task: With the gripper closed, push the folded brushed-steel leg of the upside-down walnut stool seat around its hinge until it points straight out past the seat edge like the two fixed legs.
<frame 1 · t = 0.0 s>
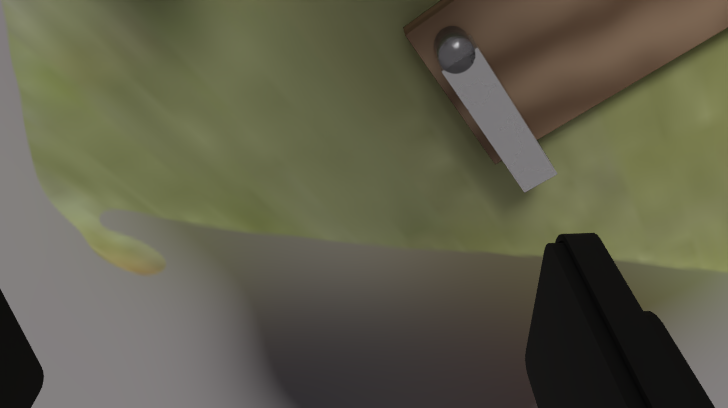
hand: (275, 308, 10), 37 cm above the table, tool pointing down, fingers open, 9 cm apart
folding leg: (493, 109, 44), point 4 cm above the table, hinge at 0.0°
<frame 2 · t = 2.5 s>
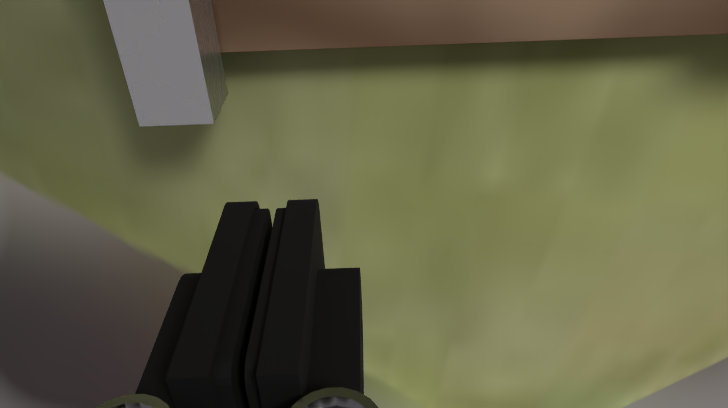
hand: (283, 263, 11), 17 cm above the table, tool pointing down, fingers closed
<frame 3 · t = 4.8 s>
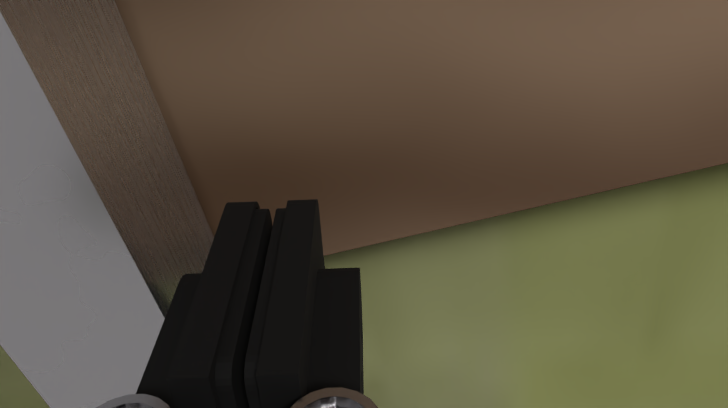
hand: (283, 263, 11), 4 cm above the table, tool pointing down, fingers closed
folding leg: (17, 106, 9), point 4 cm above the table, hinge at -5.5°, touching gripper
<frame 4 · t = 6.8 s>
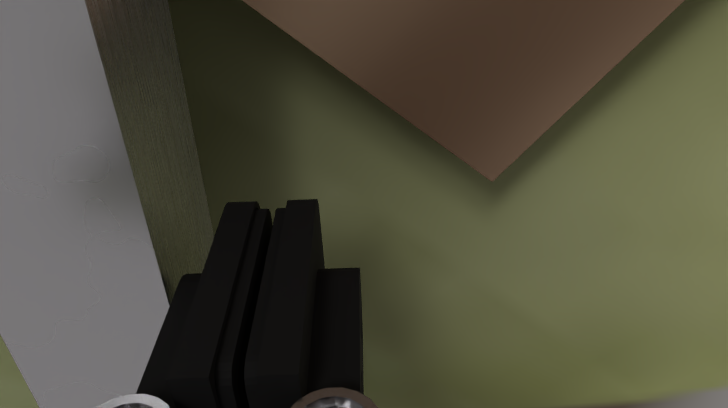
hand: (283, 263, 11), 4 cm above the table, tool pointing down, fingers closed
folding leg: (52, 77, 9), point 4 cm above the table, hinge at -51.8°, touching gripper
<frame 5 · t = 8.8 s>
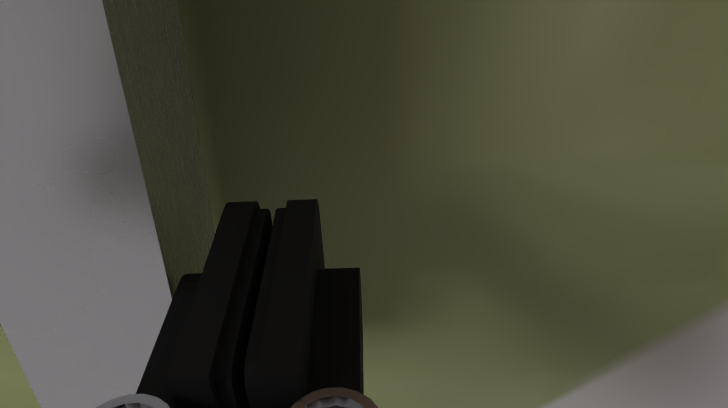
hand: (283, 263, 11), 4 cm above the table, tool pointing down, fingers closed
folding leg: (61, 69, 9), point 4 cm above the table, hinge at -90.7°, touching gripper
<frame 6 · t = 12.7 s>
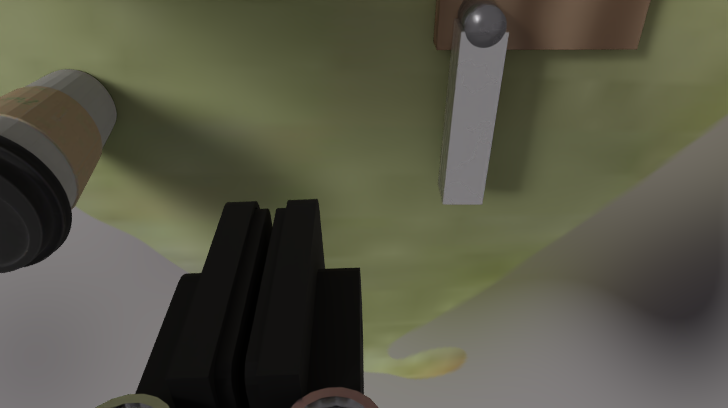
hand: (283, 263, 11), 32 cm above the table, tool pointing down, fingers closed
folding leg: (470, 106, 40), point 4 cm above the table, hinge at -90.6°
coffee cup: (79, 105, 43), on the table
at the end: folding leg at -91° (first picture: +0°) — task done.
